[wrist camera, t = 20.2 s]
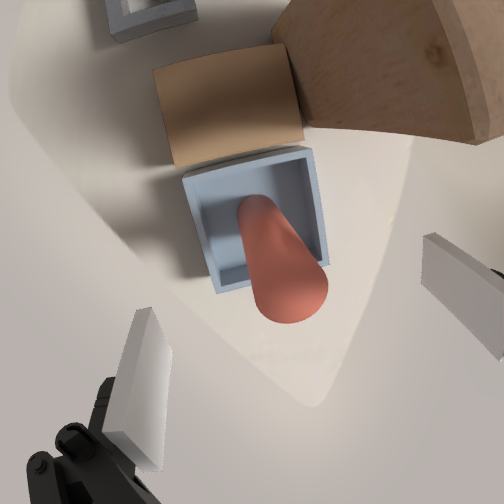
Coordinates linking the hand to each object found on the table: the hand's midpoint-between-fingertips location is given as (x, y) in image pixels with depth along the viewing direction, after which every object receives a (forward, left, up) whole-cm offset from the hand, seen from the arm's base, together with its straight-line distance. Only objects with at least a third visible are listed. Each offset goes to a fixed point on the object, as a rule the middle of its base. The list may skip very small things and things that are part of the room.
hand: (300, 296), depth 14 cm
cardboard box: (-10, 0, -16) cm, 19 cm away
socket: (-22, -5, -16) cm, 27 cm away
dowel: (0, 0, -15) cm, 15 cm away
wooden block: (-12, +10, -16) cm, 22 cm away
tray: (0, 0, -16) cm, 16 cm away
